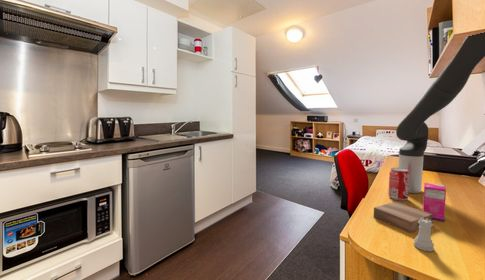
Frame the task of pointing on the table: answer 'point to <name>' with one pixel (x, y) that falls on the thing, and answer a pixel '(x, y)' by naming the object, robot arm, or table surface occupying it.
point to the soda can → (399, 184)
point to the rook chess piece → (424, 236)
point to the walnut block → (401, 216)
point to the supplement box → (434, 200)
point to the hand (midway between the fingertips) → (477, 173)
